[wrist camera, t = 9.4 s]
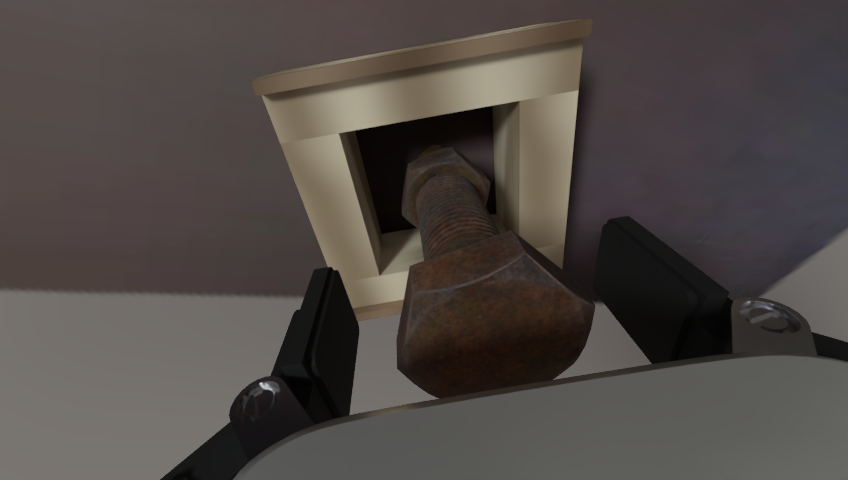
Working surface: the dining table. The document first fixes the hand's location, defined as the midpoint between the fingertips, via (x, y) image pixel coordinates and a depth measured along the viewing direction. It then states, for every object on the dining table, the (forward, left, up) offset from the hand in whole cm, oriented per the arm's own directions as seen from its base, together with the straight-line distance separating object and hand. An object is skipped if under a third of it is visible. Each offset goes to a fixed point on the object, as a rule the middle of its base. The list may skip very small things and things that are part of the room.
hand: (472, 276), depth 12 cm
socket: (0, 0, -12) cm, 12 cm away
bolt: (0, 0, -12) cm, 12 cm away
